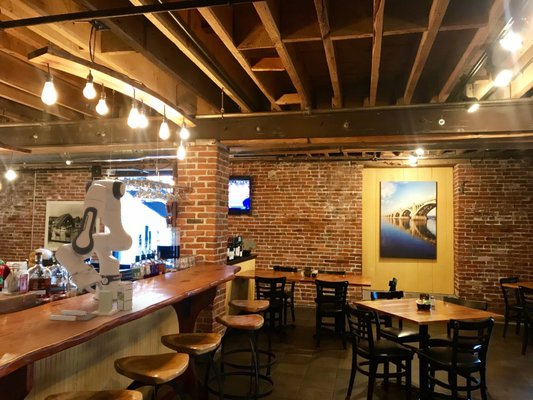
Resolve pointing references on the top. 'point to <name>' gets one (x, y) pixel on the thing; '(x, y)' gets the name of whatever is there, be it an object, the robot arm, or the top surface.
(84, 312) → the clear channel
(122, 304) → the syrup box
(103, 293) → the sage block
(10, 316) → the top surface
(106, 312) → the coaster board
